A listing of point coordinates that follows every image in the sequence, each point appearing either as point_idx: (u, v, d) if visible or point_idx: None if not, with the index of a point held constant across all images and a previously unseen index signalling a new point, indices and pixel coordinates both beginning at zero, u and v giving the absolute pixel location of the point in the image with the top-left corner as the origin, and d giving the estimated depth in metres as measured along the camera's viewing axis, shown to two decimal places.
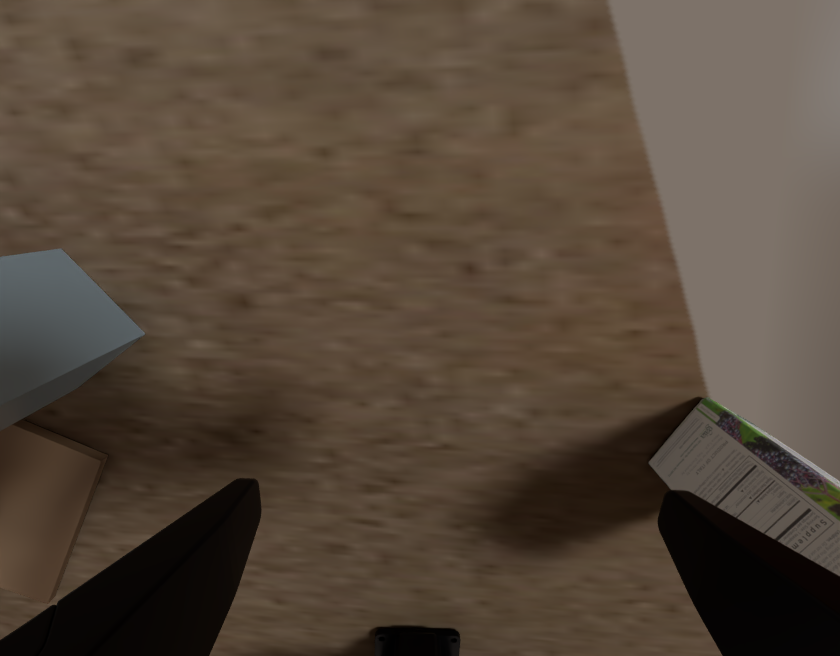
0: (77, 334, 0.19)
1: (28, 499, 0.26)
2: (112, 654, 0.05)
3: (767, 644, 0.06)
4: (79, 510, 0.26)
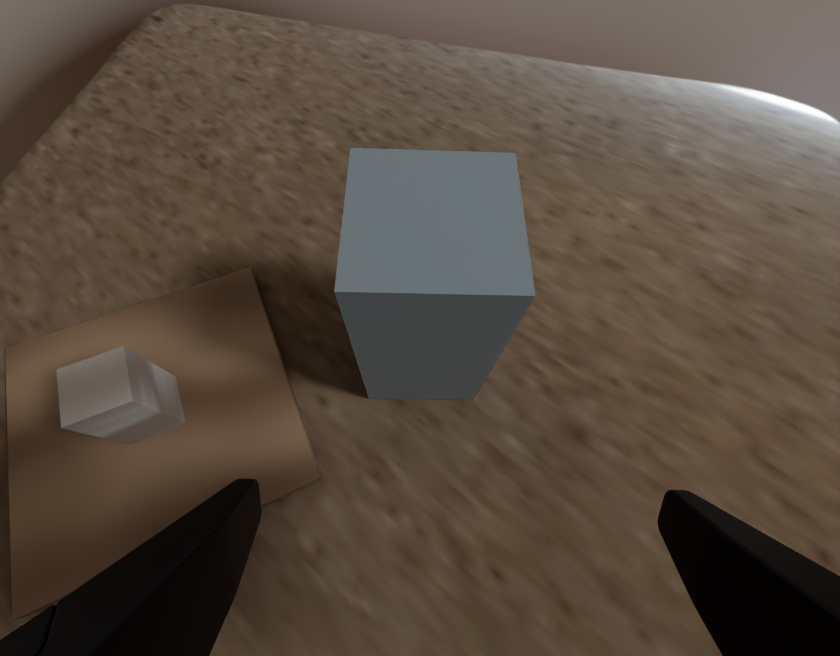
0: None
1: (202, 460, 0.20)
2: (112, 654, 0.05)
3: (767, 644, 0.06)
4: None
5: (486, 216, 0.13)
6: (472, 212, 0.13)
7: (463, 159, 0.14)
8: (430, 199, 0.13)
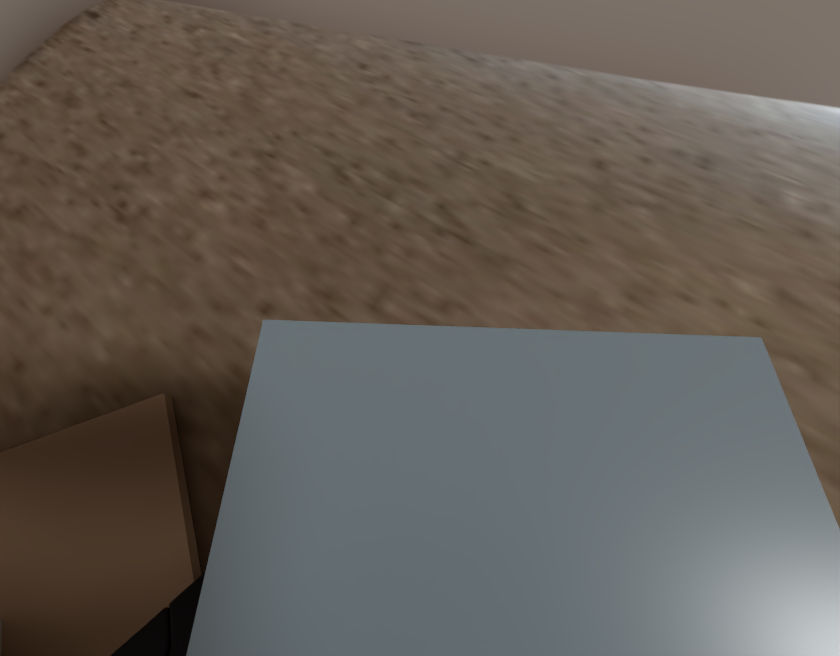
0: None
1: None
2: None
3: None
4: None
5: (747, 647, 0.03)
6: (686, 621, 0.03)
7: (611, 365, 0.05)
8: (522, 548, 0.04)
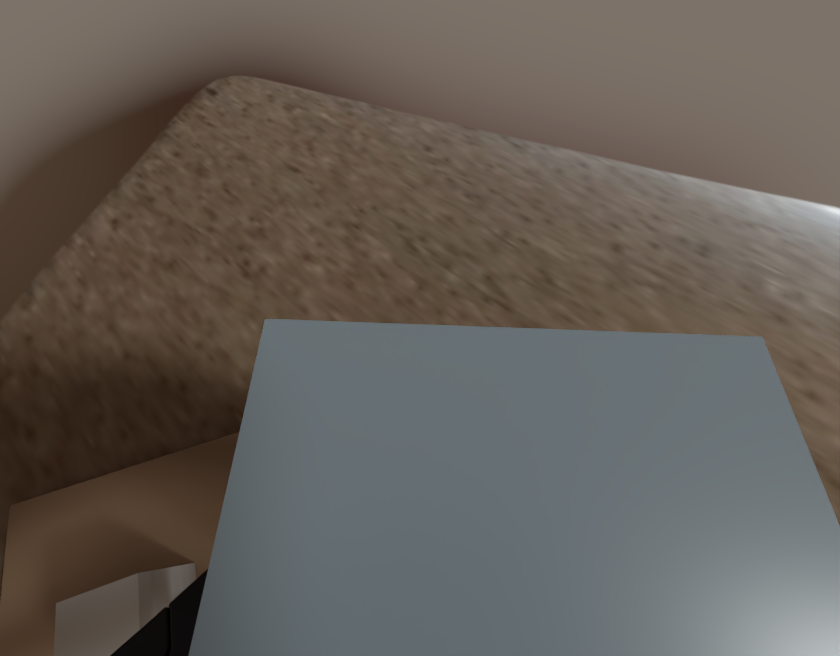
0: None
1: None
2: None
3: None
4: None
5: (747, 643, 0.03)
6: (687, 619, 0.03)
7: (613, 364, 0.05)
8: (524, 548, 0.04)
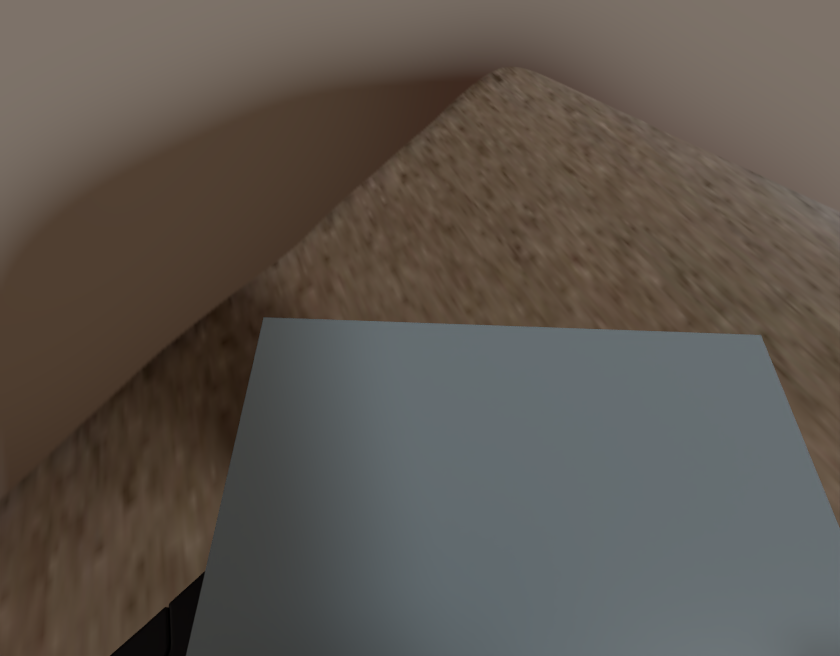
0: None
1: None
2: None
3: None
4: None
5: (744, 641, 0.03)
6: (685, 617, 0.03)
7: (611, 363, 0.05)
8: (522, 544, 0.04)
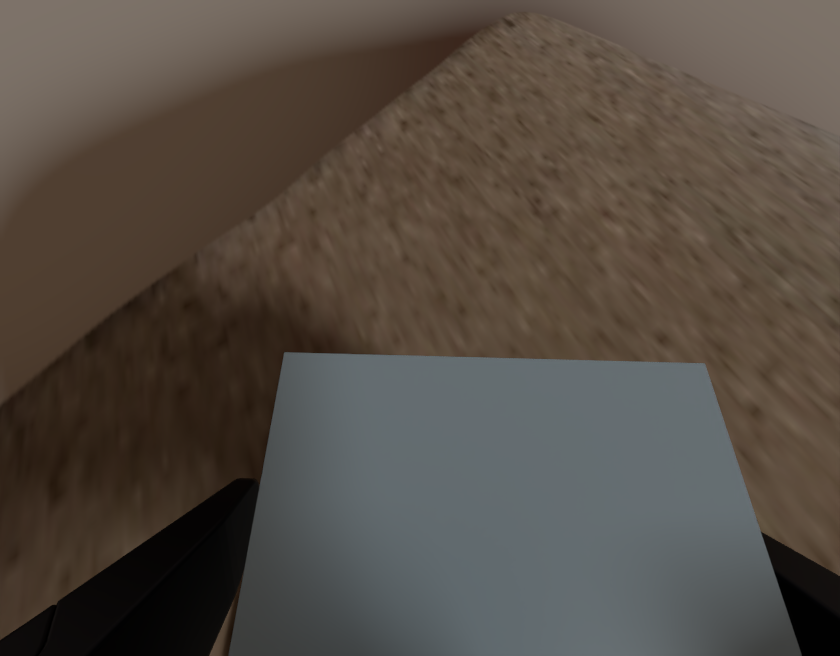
0: None
1: None
2: (112, 654, 0.05)
3: None
4: None
5: (676, 617, 0.04)
6: (630, 599, 0.04)
7: (577, 389, 0.05)
8: (501, 542, 0.05)
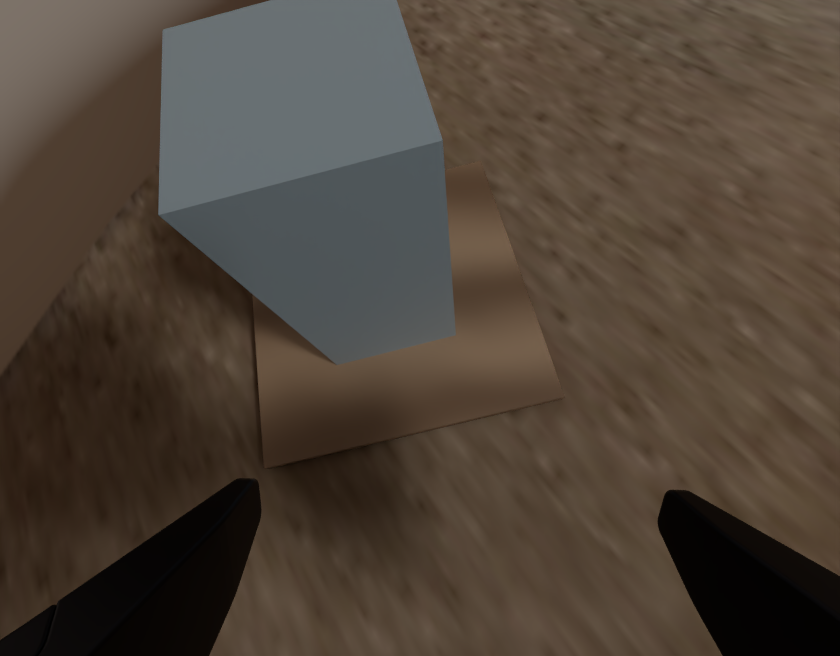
0: None
1: (435, 355, 0.19)
2: (112, 654, 0.05)
3: (767, 644, 0.06)
4: (467, 416, 0.18)
5: (357, 58, 0.09)
6: (337, 59, 0.09)
7: None
8: (277, 59, 0.09)
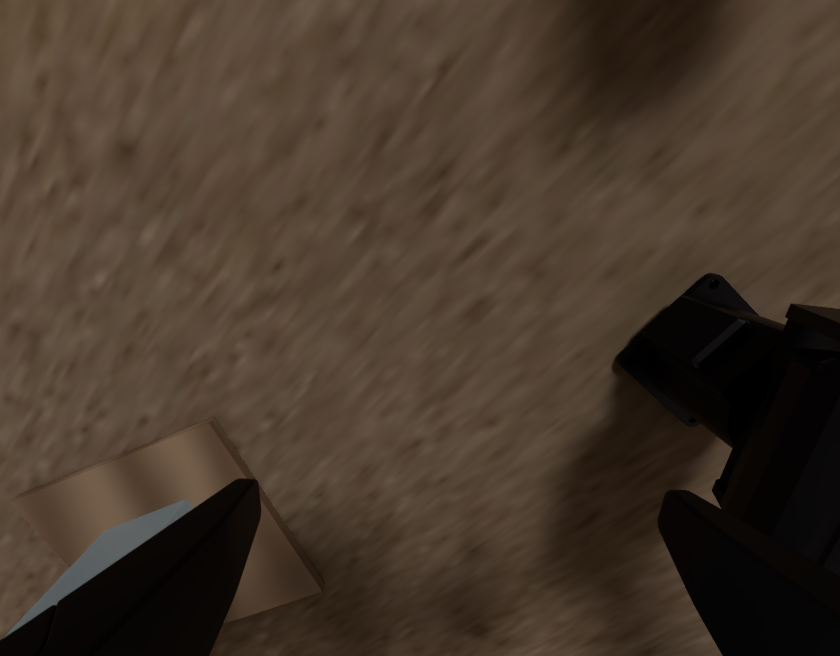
0: None
1: None
2: (112, 654, 0.05)
3: (767, 644, 0.06)
4: None
5: None
6: None
7: None
8: None
